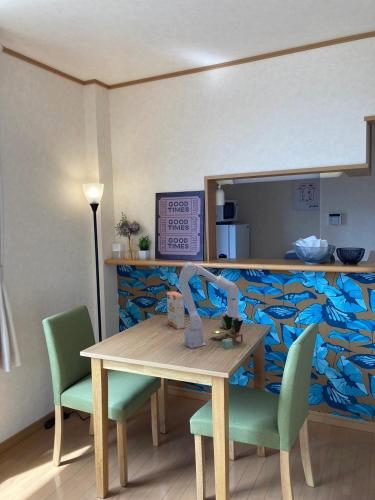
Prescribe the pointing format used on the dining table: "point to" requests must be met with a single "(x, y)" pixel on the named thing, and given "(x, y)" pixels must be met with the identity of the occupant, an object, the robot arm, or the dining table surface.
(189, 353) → the dining table surface
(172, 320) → the cracker box
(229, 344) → the block
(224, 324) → the food container
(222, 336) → the balance
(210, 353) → the dining table surface
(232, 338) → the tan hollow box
